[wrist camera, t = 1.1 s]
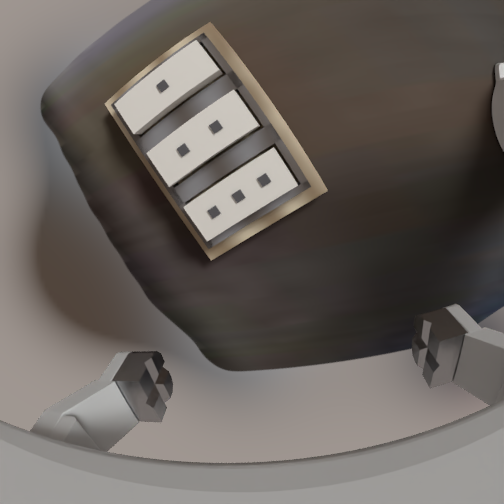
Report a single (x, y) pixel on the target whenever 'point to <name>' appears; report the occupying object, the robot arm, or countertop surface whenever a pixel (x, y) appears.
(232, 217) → the key three
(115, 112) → the key panel
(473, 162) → the countertop surface
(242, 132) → the key two
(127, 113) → the key one
